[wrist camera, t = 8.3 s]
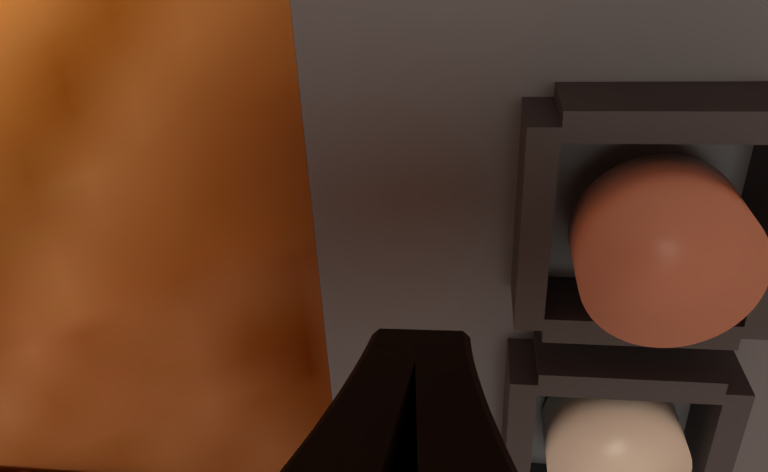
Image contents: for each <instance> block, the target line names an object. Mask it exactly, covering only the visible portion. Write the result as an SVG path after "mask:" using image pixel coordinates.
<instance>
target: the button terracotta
mask: <svg viewBox="0 0 768 472" xmlns="http://www.w3.org/2000/svg"><path fill="white" fill-rule="evenodd" d="M568 242H569V248H570V253H571V258H572V262H573V267H574V272H575V277H576V281H577V286H578V291H579V295H580V298H581V301H582V304H583V306H584V308H585V310H586V311H587V313H588V314H589V316H590V317H591V318H592V319H593V321H594V322H595V323H596V324H597V325H598V326H600V327H601V328H602V329H603V330H605V331H606V332H607V333H609V334H611V335H612V336H614V337H616V338H618V339H621V340H623V341H625V342H628V343H632V344H635V345H640V346H645V347H653V348H673V347H683V346H688V345H692V344H696V343H700V342H703V341H706V340H709V339H711V338H713V337H716V336H718V335H720V334H722V333H724V332H726V331H727V330H729V329H730V328H732V327H733V326H735V325H736V324H738V323H739V322H740V321H741V320H743V319H744V318H745V317H746V316H747V315H748V314H749V313H750V312H751V311H752V310H753V309H754V308H755V307H756V305H757V304H758V302H759V301H760V300H761V298H762V296H763V295H764V293H765V291H766V289H767V287H768V237H767V235H766V233H765V231H764V230H763V228H762V226H761V225H760V224H759V222H758V221H757V219H756V218H755V216H754V215H753V214H752V212H751V211H750V209H749V208H748V206H747V205H746V203H745V202H744V201H743V199H742V198H741V196H740V195H739V193H738V192H737V191H736V189H735V188H734V186H733V185H732V184H731V182H730V181H729V180H728V178H727V177H726V176H725V175H723V174H722V173H721V172H720V171H719V170H718V169H716V168H715V167H713V166H712V165H710V164H708V163H706V162H704V161H702V160H699V159H696V158H693V157H690V156H685V155H680V154H652V155H646V156H641V157H637V158H634V159H630V160H628V161H625V162H623V163H620V164H618V165H616V166H615V167H613V168H611V169H609V170H607V171H606V172H605V173H603V174H602V175H600V176H599V177H598V178H597V179H596V180H594V181H593V182H592V183H591V184H590V185H589V186H588V187H587V189H586V190H585V191H584V192H583V193H582V195H581V196H580V198H579V199H578V201H577V203H576V205H575V207H574V209H573V211H572V214H571V217H570V221H569V226H568Z"/></svg>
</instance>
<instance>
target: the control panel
mask: <svg viewBox="0 0 768 472" xmlns="http://www.w3.org/2000/svg"><path fill="white" fill-rule="evenodd" d="M290 5H291V15H292V24H293V34H294V43H295V53H296V62H297V71H298V81H299V90H300V100H301V109H302V119H303V128H304V137H305V147H306V156H307V166H308V175H309V184H310V194H311V203H312V213H313V222H314V232H315V241H316V250H317V260H318V269H319V279H320V288H321V297H322V307H323V316H324V326H325V335H326V345H327V354H328V363H329V373H330V382H331V392H332V401H333V400H334V398H335V397H336V395H337V394H338V393H339V391H340V390H341V388H342V386H343V385H344V383H345V382H346V380H347V378H348V377H349V375H350V374H351V372H352V370H353V369H354V367H355V365H356V364H357V362H358V360H359V359H360V357H361V355H362V353H363V351H364V350H365V348H366V346H367V344H368V342H369V340H370V338H371V336H372V334H373V333H375V332H376V331H377V330H378V329H379V328H381V329H417V330H454V331H464V332H465V333H466V334H467V335H468V336H469V337H470V338H471V348H472V353H473V358H474V362H475V366H476V370H477V373H478V377H479V380H480V383H481V386H482V389H483V392H484V395H485V398H486V400H487V403H488V405H489V408H490V411H491V413H492V415H493V418H494V420H495V422H496V425H497V427H498V429H499V432H500V434H501V436H502V439H503V441H504V443H505V446H506V448H507V450H508V452H509V454H510V456H511V458H512V461H513V463H514V465H515V467H516V469H517V471H518V472H547V465H546V456H545V446H544V436H543V427H542V411H543V407H544V405H545V402H546V400H547V399H548V397H549V396H552V397H572V398H592V399H611V400H631V401H651V402H671V403H674V406H675V409H676V412H677V415H678V418H679V421H680V424H681V427H682V430H683V433H684V436H685V439H686V442H687V445H688V448H689V451H690V454H691V458H692V472H768V287H767V289H766V291H765V293H764V295H763V296H762V298H761V300H760V301H759V302H758V304H757V305H756V307H755V308H754V309H753V310H752V311H751V312H750V313H749V314H748V315H747V316H746V317H745V318H744V319H743V320H741V321H740V322H739V323H738V324H736V325H735V326H733V327H732V328H730V329H729V330H727V331H726V332H724V333H722V334H720V335H718V336H716V337H713V338H711V339H709V340H706V341H703V342H700V343H696V344H692V345H688V346H683V347H673V348H653V347H645V346H640V345H635V344H632V343H628V342H625V341H623V340H621V339H618V338H616V337H614V336H612V335H611V334H609V333H607V332H606V331H605V330H603V329H602V328H601V327H600V326H598V325H597V324H596V323H595V322H594V321H593V319H592V318H591V317H590V316H589V314H588V313H587V311H586V310H585V308H584V306H583V304H582V301H581V298H580V295H579V291H578V286H577V281H576V277H575V272H574V267H573V262H572V258H571V253H570V248H569V242H568V226H569V221H570V217H571V214H572V211H573V209H574V207H575V205H576V203H577V201H578V199H579V198H580V196H581V195H582V193H583V192H584V191H585V190H586V189H587V187H588V186H589V185H590V184H591V183H592V182H593V181H594V180H596V179H597V178H598V177H599V176H600V175H602V174H603V173H605V172H606V171H607V170H609V169H611V168H613V167H615V166H616V165H618V164H620V163H623V162H625V161H628V160H630V159H634V158H637V157H641V156H646V155H652V154H680V155H685V156H690V157H693V158H696V159H699V160H702V161H704V162H706V163H708V164H710V165H712V166H713V167H715V168H716V169H718V170H719V171H720V172H721V173H722V174H723V175H725V176H726V177H727V178H728V180H729V181H730V182H731V184H732V185H733V186H734V188H735V189H736V191H737V192H738V193H739V195H740V196H741V198H742V199H743V201H744V202H745V203H746V205H747V206H748V208H749V209H750V211H751V212H752V214H753V215H754V216H755V218H756V219H757V221H758V222H759V224H760V225H761V226H762V228H763V230H764V231H765V233H766V235H767V237H768V0H290Z"/></svg>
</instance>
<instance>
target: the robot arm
mask: <svg viewBox="0 0 768 472" xmlns="http://www.w3.org/2000/svg"><path fill="white" fill-rule="evenodd" d="M280 472H518V471H517V469H516V467H515V465H514V463H513V461H512V458H511V456H510V454H509V452H508V450H507V448H506V446H505V443H504V441H503V439H502V436H501V434H500V432H499V429H498V427H497V425H496V422H495V420H494V418H493V415H492V413H491V411H490V408H489V405H488V403H487V400H486V398H485V395H484V392H483V389H482V386H481V383H480V380H479V377H478V373H477V370H476V366H475V362H474V358H473V353H472V348H471V338H470V337H469V336H468V335H467V334H466V333H465V332H464V331H454V330H417V329H381V328H379V329H378V330H377V331H376V332H375V333H373V334H372V336H371V338H370V340H369V342H368V344H367V346H366V348H365V350H364V351H363V353H362V355H361V357H360V359H359V360H358V362H357V364H356V365H355V367H354V369H353V370H352V372H351V374H350V375H349V377H348V378H347V380H346V382H345V383H344V385H343V386H342V388H341V390H340V391H339V393H338V394H337V395H336V397H335V398H334V400H333V401H332V403H331V404H330V406H329V407H328V408H327V410H326V411H325V413H324V414H323V416H322V417H321V419H320V420H319V422H318V423H317V424H316V426H315V427H314V429H313V430H312V431H311V433H310V434H309V435H308V437H307V438H306V439H305V441H304V442H303V443H302V444H301V446H300V447H299V448H298V449H297V451H296V452H295V453H294V454H293V456H292V457H291V458H290V460H289V461H288V462H287V463H286V465H285V466H284V467H283V468H282V470H281V471H280Z"/></svg>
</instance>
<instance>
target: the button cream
mask: <svg viewBox="0 0 768 472" xmlns="http://www.w3.org/2000/svg"><path fill="white" fill-rule="evenodd" d="M542 427H543V436H544V446H545V456H546V465H547V472H692V458H691V454H690V451H689V448H688V445H687V442H686V439H685V436H684V433H683V430H682V427H681V424H680V421H679V418H678V415H677V412H676V409H675V406H674V403H671V402H651V401H631V400H611V399H592V398H572V397H552V396H549V397H548V399H547V400H546V402H545V405H544V407H543V411H542Z"/></svg>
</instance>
